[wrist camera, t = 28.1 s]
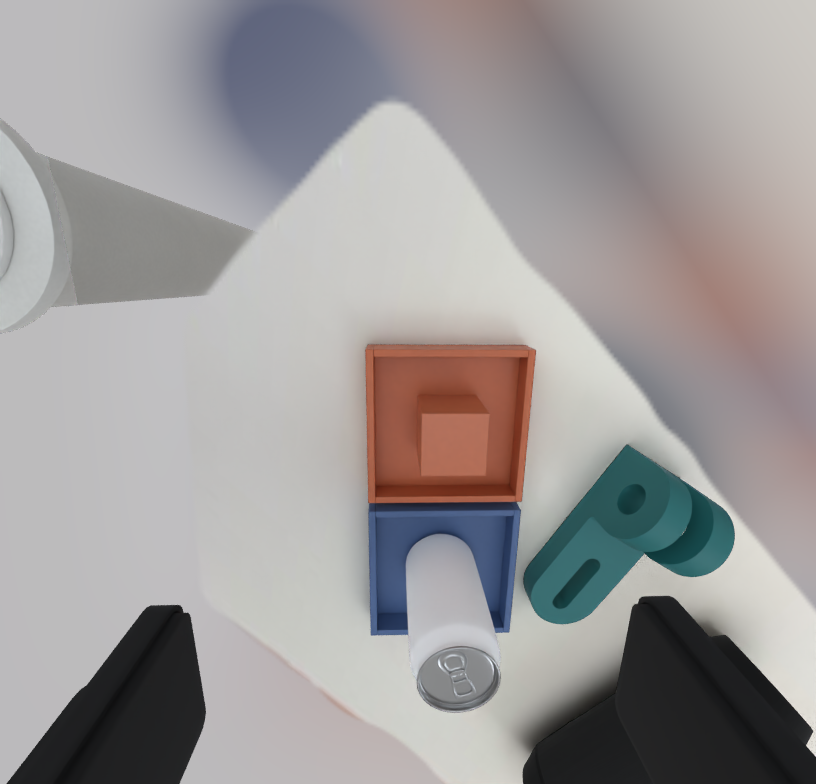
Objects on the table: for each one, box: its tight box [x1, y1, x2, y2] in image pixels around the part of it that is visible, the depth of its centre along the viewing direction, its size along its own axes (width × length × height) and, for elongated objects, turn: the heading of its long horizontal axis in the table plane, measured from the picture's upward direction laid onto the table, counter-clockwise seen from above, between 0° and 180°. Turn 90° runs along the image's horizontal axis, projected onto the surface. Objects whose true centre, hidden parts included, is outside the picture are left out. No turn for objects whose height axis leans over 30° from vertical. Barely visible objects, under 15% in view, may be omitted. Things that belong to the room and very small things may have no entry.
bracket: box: [524, 445, 735, 624], centre depth 35 cm, size 18×7×8 cm, turn 148°
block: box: [417, 395, 490, 476], centre depth 32 cm, size 5×5×5 cm
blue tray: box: [369, 502, 521, 635], centre depth 38 cm, size 13×13×2 cm
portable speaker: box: [523, 635, 813, 784], centre depth 40 cm, size 26×10×10 cm, turn 132°
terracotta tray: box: [365, 345, 536, 503], centre depth 34 cm, size 13×13×2 cm
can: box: [406, 534, 501, 713], centre depth 32 cm, size 6×6×12 cm
